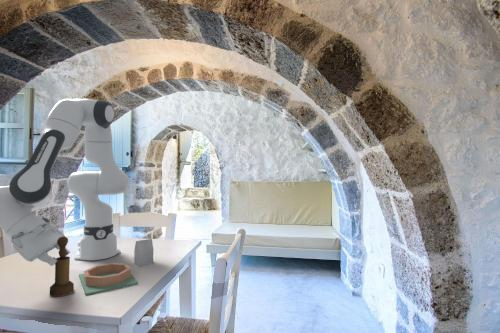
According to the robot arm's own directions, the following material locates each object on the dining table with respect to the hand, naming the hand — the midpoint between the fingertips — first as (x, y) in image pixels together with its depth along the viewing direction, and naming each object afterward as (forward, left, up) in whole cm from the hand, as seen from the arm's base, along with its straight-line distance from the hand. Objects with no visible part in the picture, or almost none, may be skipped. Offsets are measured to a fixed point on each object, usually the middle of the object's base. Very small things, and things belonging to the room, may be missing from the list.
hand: (61, 258), depth 93 cm
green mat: (-3, +14, -11) cm, 18 cm away
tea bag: (-14, +30, -11) cm, 35 cm away
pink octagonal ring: (-3, +14, -11) cm, 18 cm away
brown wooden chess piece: (0, 0, -11) cm, 11 cm away
